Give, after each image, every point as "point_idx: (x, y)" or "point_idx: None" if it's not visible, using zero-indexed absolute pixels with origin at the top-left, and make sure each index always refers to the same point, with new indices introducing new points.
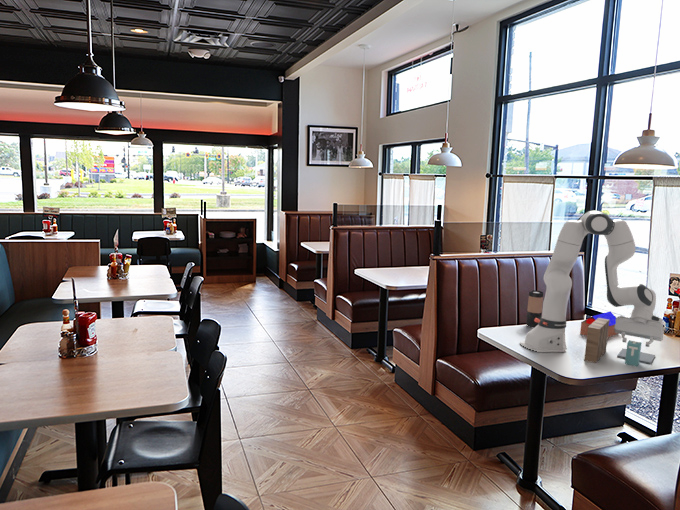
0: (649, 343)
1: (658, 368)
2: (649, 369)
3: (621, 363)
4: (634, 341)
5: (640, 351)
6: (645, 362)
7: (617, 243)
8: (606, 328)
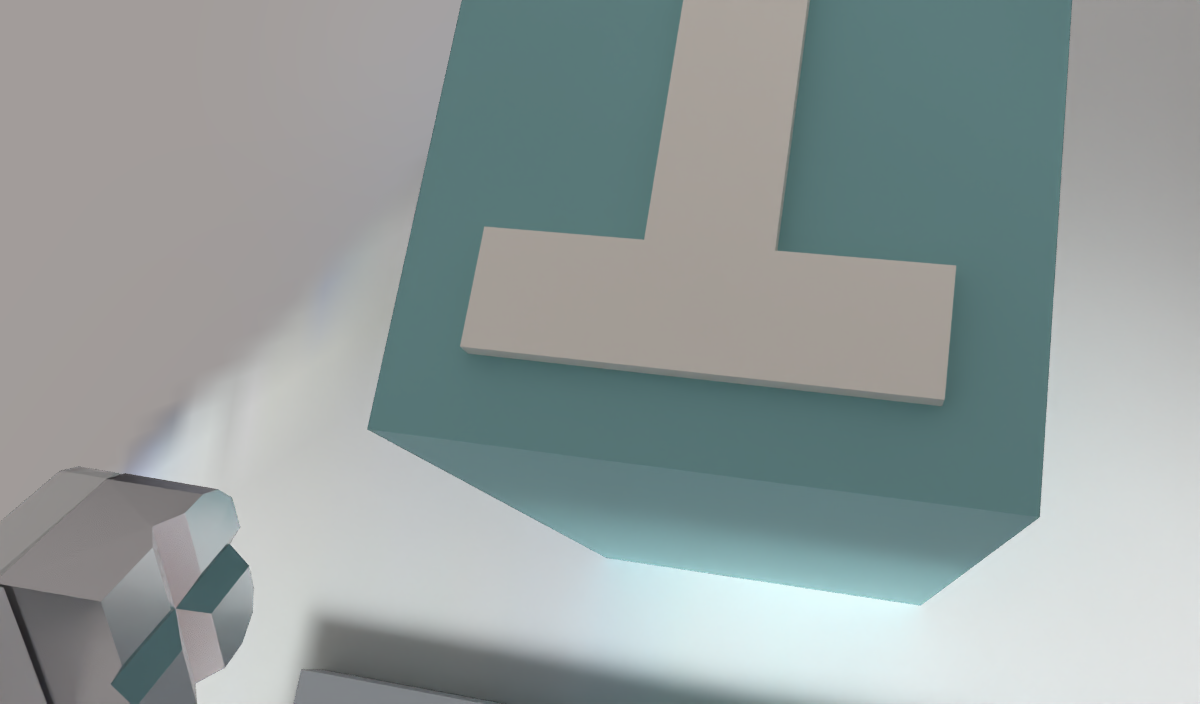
0: (3, 521)
1: (201, 426)
2: (400, 218)
3: None
4: (729, 316)
5: (512, 503)
6: (440, 693)
7: None
8: None
